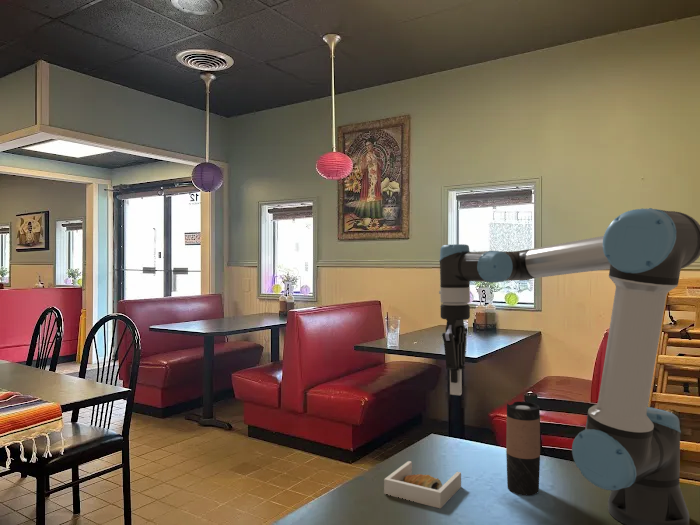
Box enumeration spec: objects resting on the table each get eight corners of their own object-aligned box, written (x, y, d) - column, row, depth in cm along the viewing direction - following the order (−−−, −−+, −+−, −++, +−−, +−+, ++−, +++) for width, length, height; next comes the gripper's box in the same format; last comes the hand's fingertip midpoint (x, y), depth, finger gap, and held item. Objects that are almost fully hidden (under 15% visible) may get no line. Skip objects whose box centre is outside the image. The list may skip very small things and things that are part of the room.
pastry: (396, 488, 130) (396, 472, 130) (414, 480, 135) (414, 464, 135) (427, 500, 123) (427, 483, 123) (445, 491, 128) (445, 475, 128)
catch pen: (461, 486, 130) (461, 472, 130) (440, 508, 119) (440, 492, 119) (408, 474, 137) (408, 461, 137) (384, 493, 126) (384, 479, 126)
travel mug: (542, 497, 124) (542, 411, 124) (507, 494, 126) (507, 409, 125) (537, 483, 132) (537, 402, 131) (505, 481, 133) (505, 400, 133)
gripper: (450, 301, 148) (450, 387, 148) (432, 305, 137) (433, 398, 137) (476, 302, 144) (477, 390, 144) (460, 306, 133) (461, 401, 133)
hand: (455, 394), depth 141 cm, fingers closed
